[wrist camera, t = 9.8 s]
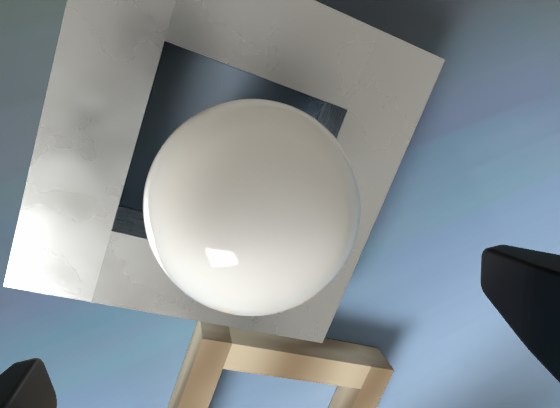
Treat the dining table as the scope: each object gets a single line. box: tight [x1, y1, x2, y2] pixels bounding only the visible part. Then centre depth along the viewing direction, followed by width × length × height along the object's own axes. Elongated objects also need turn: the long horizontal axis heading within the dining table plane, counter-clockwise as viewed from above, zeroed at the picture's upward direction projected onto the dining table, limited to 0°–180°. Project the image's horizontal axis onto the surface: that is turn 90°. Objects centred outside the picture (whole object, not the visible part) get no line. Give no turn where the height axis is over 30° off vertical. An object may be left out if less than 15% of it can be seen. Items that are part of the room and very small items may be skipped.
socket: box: [3, 0, 445, 343], centre depth 19 cm, size 14×14×3 cm
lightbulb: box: [143, 99, 361, 316], centre depth 16 cm, size 6×6×11 cm
